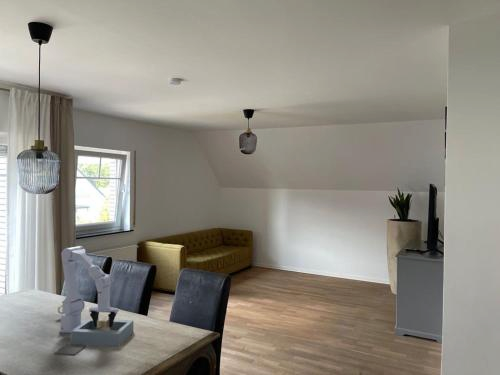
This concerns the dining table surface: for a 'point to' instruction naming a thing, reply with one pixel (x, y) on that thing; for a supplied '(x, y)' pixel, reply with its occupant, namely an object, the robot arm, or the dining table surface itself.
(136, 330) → the dining table surface
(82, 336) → the box
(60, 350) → the mat
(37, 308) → the dining table surface
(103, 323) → the birch post
